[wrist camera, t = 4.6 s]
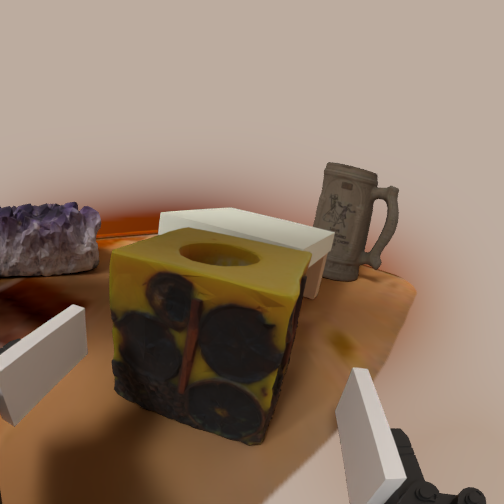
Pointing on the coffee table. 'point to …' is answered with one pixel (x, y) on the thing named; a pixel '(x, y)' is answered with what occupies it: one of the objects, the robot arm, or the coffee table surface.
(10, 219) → the geode
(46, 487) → the coffee table surface
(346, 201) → the beer stein
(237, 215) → the footstool
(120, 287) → the candle
